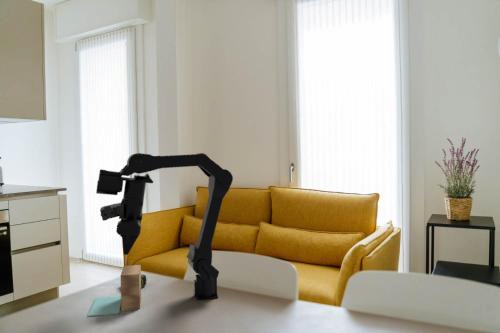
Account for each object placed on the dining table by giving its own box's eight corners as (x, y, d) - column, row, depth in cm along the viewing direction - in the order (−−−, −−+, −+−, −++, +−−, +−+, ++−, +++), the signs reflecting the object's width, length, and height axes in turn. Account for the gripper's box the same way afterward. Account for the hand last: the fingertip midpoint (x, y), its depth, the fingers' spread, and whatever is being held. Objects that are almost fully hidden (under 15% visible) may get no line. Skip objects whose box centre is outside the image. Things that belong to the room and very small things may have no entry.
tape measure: (144, 283, 138) (144, 272, 138) (148, 288, 132) (147, 277, 132) (123, 285, 135) (123, 274, 135) (126, 292, 129) (126, 280, 129)
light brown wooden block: (141, 297, 124) (140, 264, 124) (139, 309, 114) (139, 274, 114) (124, 298, 123) (123, 266, 122) (121, 311, 113) (120, 275, 113)
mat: (123, 296, 125) (123, 295, 125) (118, 313, 111) (118, 312, 111) (95, 298, 123) (95, 297, 123) (87, 316, 109) (87, 315, 109)
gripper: (107, 187, 123) (101, 237, 124) (100, 199, 105) (92, 258, 106) (145, 192, 126) (138, 240, 127) (144, 204, 108) (136, 261, 109)
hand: (126, 249), depth 117 cm, fingers open, 9 cm apart
